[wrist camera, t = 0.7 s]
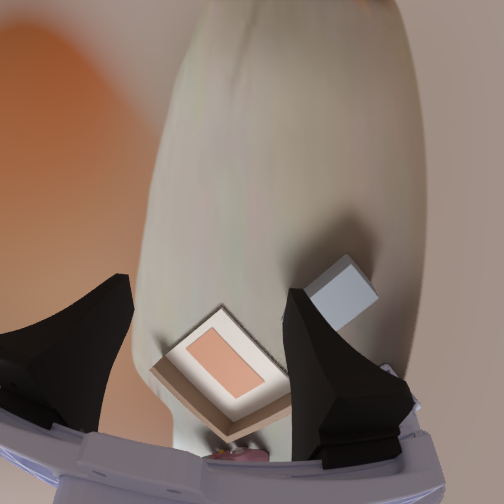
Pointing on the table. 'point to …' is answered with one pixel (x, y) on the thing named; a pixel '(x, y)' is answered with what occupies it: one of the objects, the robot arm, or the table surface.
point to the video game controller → (241, 455)
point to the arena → (225, 379)
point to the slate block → (341, 292)
